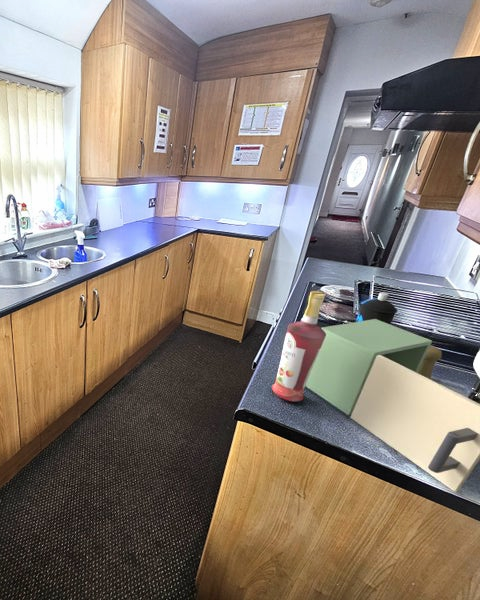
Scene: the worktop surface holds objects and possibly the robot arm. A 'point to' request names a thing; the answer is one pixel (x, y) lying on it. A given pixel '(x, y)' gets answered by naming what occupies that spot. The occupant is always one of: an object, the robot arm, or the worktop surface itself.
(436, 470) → the door
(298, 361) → the liquor
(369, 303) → the aerosol can
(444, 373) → the worktop surface
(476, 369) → the robot arm
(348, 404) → the cupboard
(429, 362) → the cork
